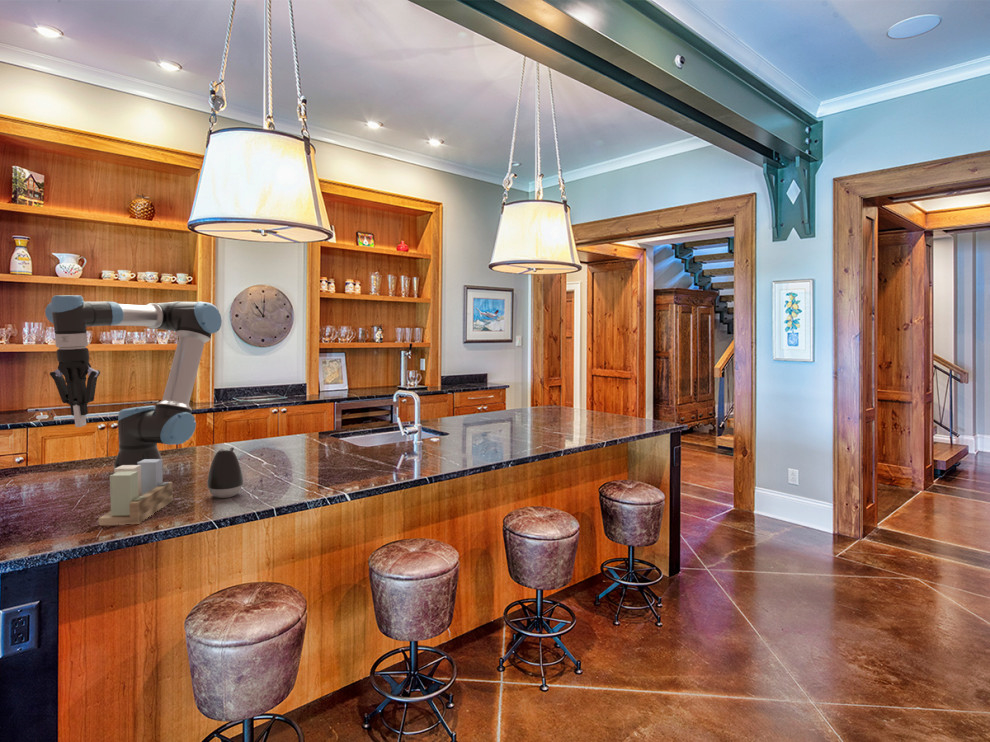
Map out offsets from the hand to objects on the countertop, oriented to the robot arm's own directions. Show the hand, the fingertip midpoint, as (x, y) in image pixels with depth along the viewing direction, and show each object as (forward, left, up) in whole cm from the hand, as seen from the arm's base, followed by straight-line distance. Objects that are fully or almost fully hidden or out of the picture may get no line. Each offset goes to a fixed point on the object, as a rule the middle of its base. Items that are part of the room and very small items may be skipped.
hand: (80, 425), depth 165 cm
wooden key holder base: (+13, +22, -23) cm, 34 cm away
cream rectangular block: (+13, +19, -20) cm, 31 cm away
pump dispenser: (-2, +40, -23) cm, 46 cm away
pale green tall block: (+20, +22, -20) cm, 36 cm away
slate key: (+6, +22, -20) cm, 31 cm away
